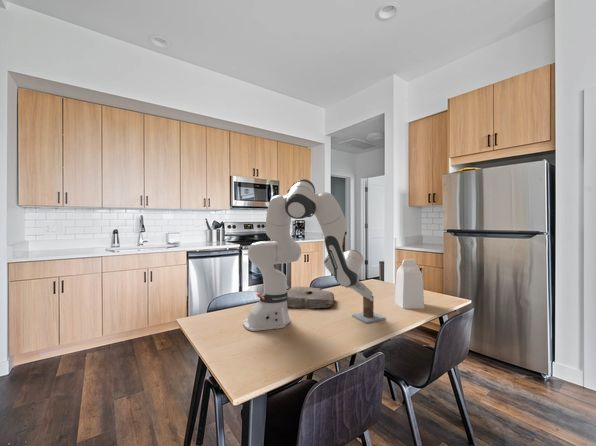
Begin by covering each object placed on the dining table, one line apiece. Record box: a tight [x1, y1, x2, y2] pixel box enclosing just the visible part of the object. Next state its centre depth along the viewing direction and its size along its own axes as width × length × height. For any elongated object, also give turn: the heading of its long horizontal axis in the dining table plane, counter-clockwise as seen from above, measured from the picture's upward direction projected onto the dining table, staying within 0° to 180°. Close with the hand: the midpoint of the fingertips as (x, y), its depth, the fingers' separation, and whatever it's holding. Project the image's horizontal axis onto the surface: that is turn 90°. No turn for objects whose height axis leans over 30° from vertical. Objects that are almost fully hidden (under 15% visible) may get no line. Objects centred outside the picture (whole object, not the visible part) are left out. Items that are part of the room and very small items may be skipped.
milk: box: [394, 259, 425, 310], centre depth 156 cm, size 12×12×26 cm
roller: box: [362, 294, 375, 318], centre depth 137 cm, size 5×5×10 cm
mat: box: [351, 312, 387, 324], centre depth 137 cm, size 12×11×1 cm
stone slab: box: [287, 286, 335, 310], centre depth 165 cm, size 31×29×6 cm
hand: (367, 297), depth 138 cm, fingers open, 8 cm apart
